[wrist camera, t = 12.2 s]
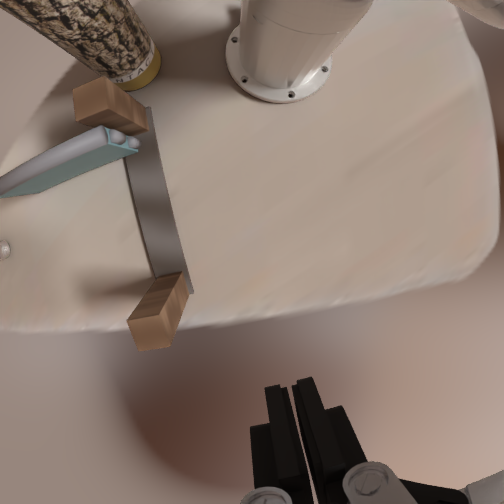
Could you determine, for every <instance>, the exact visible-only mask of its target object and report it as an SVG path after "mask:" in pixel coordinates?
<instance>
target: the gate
mask: <svg viewBox="0 0 504 504" xmlns="http://www.w3.org/2000/svg"><path fill="white" fill-rule="evenodd" d="M140 147H141V141H140V140H139V139H137V138H134V137H132V136H126V135H125V134H124V133H122V132H119V131H117V130H114V129H108V128H105V127H104V126H103V125H100V126H98V127H96V128H93V129H91V130H89V131H87V132H84V133H82V134H80V135H78V136H76V137H73V138H71V139H69V140H67V141H65V142H63V143H61V144H59V145H57V146H55V147H53V148H51V149H49V150H47V151H45V152H43V153H41V154H39V155H38V156H36V157H34V158H32V159H30V160H29V161H27V162H25V163H23V164H21V165H20V166H18V167H16V168H15V169H13V170H11V171H10V172H8V173H6V174H5V175H3V176H1V177H0V198H6V197H13V196H20V195H27V194H35V193H40V192H42V191H44V190H46V189H48V188H51V187H53V186H55V185H57V184H59V183H61V182H64V181H66V180H68V179H70V178H73V177H75V176H77V175H80V174H82V173H85V172H87V171H89V170H92V169H94V168H97V167H99V166H102V165H104V164H107V163H110V162H112V161H115V160H118V159H120V158H123V157H126V156H128V155H131V154H134V153H137V152H138V149H139V148H140Z"/></svg>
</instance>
